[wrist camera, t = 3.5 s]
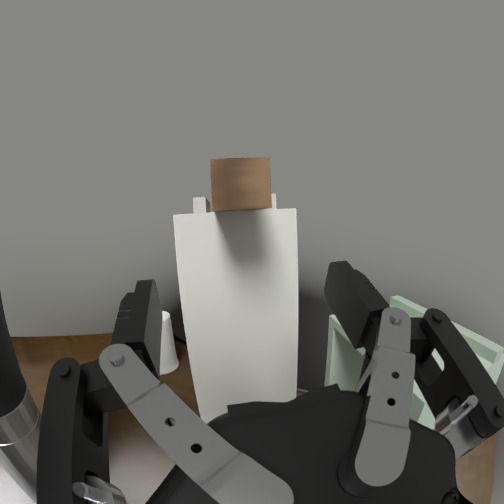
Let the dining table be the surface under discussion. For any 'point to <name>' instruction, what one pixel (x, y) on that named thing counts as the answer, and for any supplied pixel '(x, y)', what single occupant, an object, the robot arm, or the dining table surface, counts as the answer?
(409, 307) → the rest stand
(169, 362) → the mug
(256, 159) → the hook bar
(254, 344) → the shelf stand
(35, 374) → the dining table surface
